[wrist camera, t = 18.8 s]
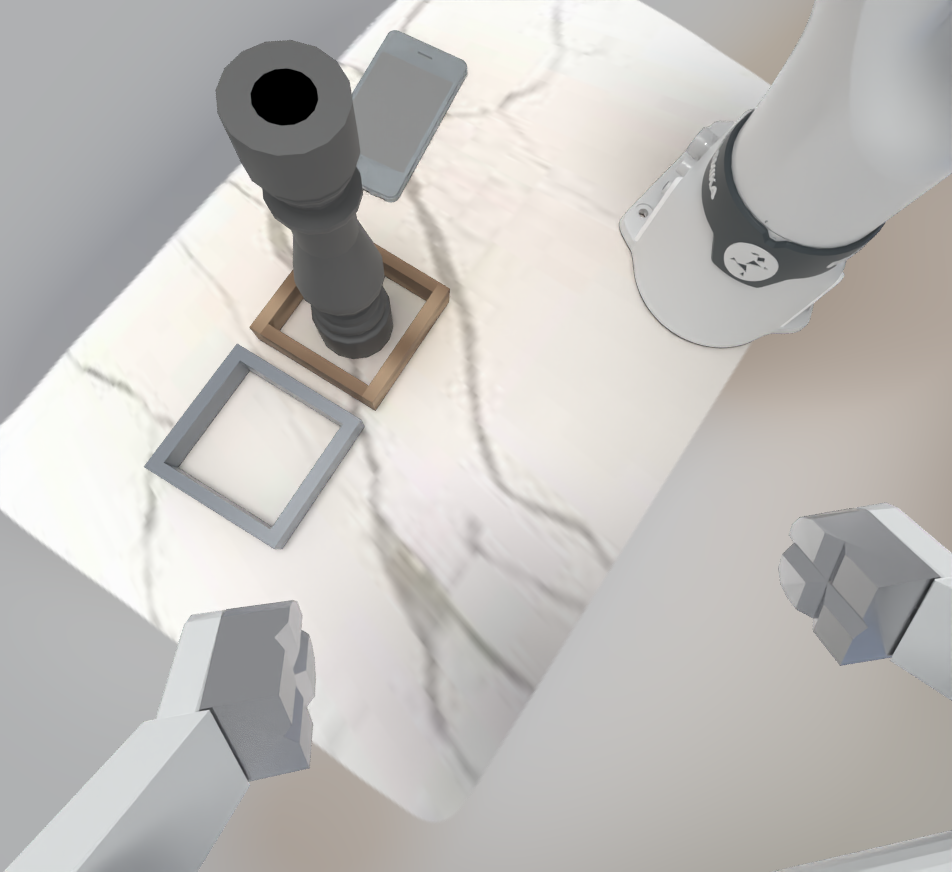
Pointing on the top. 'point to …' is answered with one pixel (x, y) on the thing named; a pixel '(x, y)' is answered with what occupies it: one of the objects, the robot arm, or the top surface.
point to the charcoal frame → (207, 409)
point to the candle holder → (310, 183)
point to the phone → (401, 109)
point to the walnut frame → (370, 395)
